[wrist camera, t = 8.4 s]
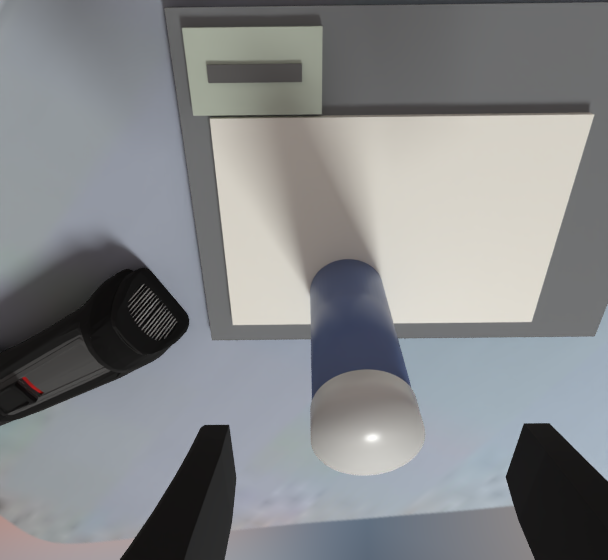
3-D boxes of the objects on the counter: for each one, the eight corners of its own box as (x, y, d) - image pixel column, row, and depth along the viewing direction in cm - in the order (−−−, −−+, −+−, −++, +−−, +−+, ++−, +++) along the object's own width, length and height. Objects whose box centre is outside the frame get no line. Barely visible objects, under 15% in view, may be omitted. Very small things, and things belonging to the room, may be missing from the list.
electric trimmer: (-114, 390, 22) (-173, 446, 19) (141, 253, 18) (111, 299, 15) (-48, 437, 24) (-94, 494, 21) (198, 321, 20) (180, 373, 17)
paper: (589, 112, 15) (594, 114, 14) (528, 317, 19) (531, 322, 19) (211, 116, 15) (209, 118, 14) (233, 320, 19) (232, 324, 19)
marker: (388, 258, 17) (433, 398, 11) (380, 321, 18) (416, 475, 13) (309, 257, 17) (311, 397, 11) (308, 321, 18) (309, 475, 12)
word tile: (322, 26, 13) (322, 26, 13) (321, 112, 15) (321, 114, 14) (184, 27, 13) (180, 28, 13) (195, 113, 15) (192, 116, 14)
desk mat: (717, 0, 13) (728, 0, 13) (589, 330, 20) (594, 336, 19) (167, 7, 13) (164, 7, 13) (213, 334, 20) (211, 340, 19)
